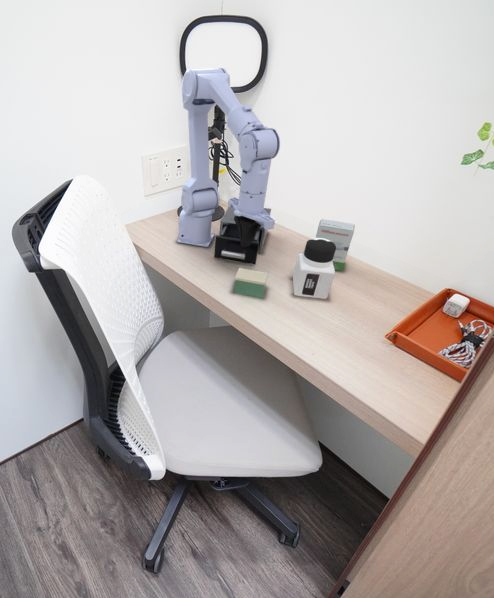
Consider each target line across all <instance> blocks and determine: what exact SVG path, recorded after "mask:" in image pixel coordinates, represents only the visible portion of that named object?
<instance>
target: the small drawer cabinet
mask: <svg viewBox="0 0 494 598" xmlns="http://www.w3.org/2000/svg"><path fill="white" fill-rule="evenodd" d="M264 210H265V211H266V212H267V213H268V214H269V216H270V217H271V212H272V208H267V207H264ZM234 211H235V209H234V208H233V207H232V208H230V207H228V206H227V208H226V210H225V212H224V214H223V216H222V218H221V220H220V223H219V234H218V236H220V234H221V232H222V230H223V228H224V226H225V225H232V226H237V225H236V223H235V221H234V217H235V216H237V215H235V214H234ZM259 229H260V230H261V235H260V241H259V247H258V253H257V254H262V252H263V249H264V245H265V242H266V238H267V234H268V231H269V230H265V229H264V226H261V227H260V228H259Z"/></svg>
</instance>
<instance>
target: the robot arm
mask: <svg viewBox="0 0 494 598" xmlns="http://www.w3.org/2000/svg"><path fill="white" fill-rule="evenodd" d="M181 96H182V108H183V109H184V110H185V111H187V123H188V125H187V126H188V143H189V145H188V146H189V161H190V162H189V163H190V178H189V179H188V180H187V181H185V183H184V184H183V185H182V186H181V187H182V188H181V198H180V202H181V207H182V209H181V210H180V213H179V217H178V239H177V243H179V244H186V245H193V246H199V247H205V248H209V247H210V244H211V242H212V241H213V239H214V238H215V234H214V233H212V222H213V214H214V213H215V210H216V209H218V208H219V205H220V203H221V198H220V196H221V195H220V192H219V188H218V182H216V181H215V180H213V179H212V178H211V177H210V150H209V149H210V146H209V144H210V143H209V115H208V114H209V113H210V111H211V109H213V108H214V107H215V106H218V108H219V109H220V110H221V112H223V113H224V115H225V116H226V126H227V127H228V129H229V131H230V132H231V134H232V135H233V137H234V138H235V139H236V141H237V142H238V153H239V158H240V162H239V165H240V169H241V174H240V175H241V176H240V184H239V194H238V198H237V197H230V198H228V200H227V201H228V202H227V208H228V207H230V208H232V207H233V208H234V209H235V211H234V214H235V215H237V216H235V217H234V221H235V223H236V225H237V228H238V232H239V237H240V244H241V246H243V247H247V246H250V245H251V243H252V240H253V238H254V236H255V234H256V232H257V231H258V229H259V228H260V227H261V226H264V229H265V230H268V231H269V230H272V229H273V230H274V228H275V224H276V220H275V219H274V218H273V217H272V216H271V215H270V216H269V214H268V213H267V212H266V211H265V210H264V208H265V202H266V195H267V189H268V185H269V177H270V171H271V165H272V160H273V159H274V158H277V155H278V154H279V152H280V149H281V147H280V146H281V139H280V135H279V133H278V132H277V130H276V128H273V127H268V126H264V124H263V123H262V121H261V120H260V119H259V117H258V116H257V115H256V114H255V112H254V111H253V108H252V106H251V105H250V104H241V102H240V101H239V99H238V98H237V96H236V94H235V92H234V91H233V89H232V87H231V76H230V74H229V73H228V72H227V70H226V69H225V68H224V67H219V68H195V69H193V68H188V69H186V70H185V72H184V75H183V77H182V80H181Z"/></svg>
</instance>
